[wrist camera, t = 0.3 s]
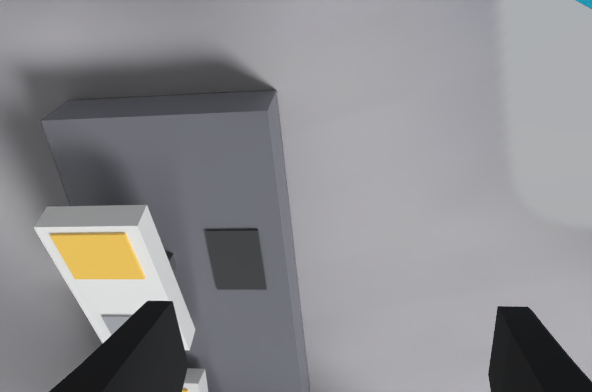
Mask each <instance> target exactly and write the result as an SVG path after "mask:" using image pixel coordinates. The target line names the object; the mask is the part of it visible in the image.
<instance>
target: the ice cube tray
mask: <svg viewBox="0 0 592 392" xmlns="http://www.w3.org/2000/svg"><path fill="white" fill-rule="evenodd" d="M576 1H578V2H580V3H582V4H583V5H585V6H587V7H589V8H591V9H592V0H576Z"/></svg>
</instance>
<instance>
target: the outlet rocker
mask: <svg viewBox="0 0 592 392" xmlns="http://www.w3.org/2000/svg"><path fill="white" fill-rule="evenodd" d="M33 228H34V229H35V231H36V233H37V234H38V236H39V238H40V239H41V241H42V243H43V244H44V246H45V248H46V249H47V251H48V253H49V254H50V256H51V258H52V259H53V261H54V263H55V264H56V266H57V268H58V269H59V271H60V273H61V275H62V276H63V278H64V280H65V281H66V283H67V285H68V286H69V288H70V290H71V291H72V293H73V295H74V296H75V298H76V300H77V301H78V303H79V305H80V306H81V308H82V310H83V311H84V313H85V315H86V317H87V318H88V320H89V322H90V323H91V325H92V327H93V328H94V330H95V332H96V333H97V335H98V337H99V338H100V340H101V342H102V343H104V342H105V341H106V340H107V339H108V338H109V337H110V336H111V335H112V334H113V333H114V332H115V331H116V330H117V329H118V328H120V327H121V326H122V325H123V324H124V323H125V322H126V321H127V320H128V319H129V318H130V317H131V316H132V315H133V314H134V313H135V312H136V311H137V310H138V309H139V308H140V307H141V306H142V305H143V304H145V303H146V302H147V301H173V305H174V309H175V313H176V317H177V321H178V325H179V329H180V333H181V337H182V341H183V345H184V349H185V350H190V347H191V344H192V340H193V337H194V333H195V327H194V324H193V322H192V319H191V317H190V314H189V312H188V309H187V306H186V304H185V301H184V299H183V296H182V294H181V291H180V288H179V286H178V283H177V281H176V278H175V276H174V273H173V271H172V268H171V265H170V263H169V260H168V258H167V255H166V253H165V250H164V247H163V245H162V242H161V240H160V237H159V235H158V232H157V229H156V227H155V224H154V222H153V219H152V217H151V214H150V211H149V209H148V206H147V205H109V206H57V207H46V209H45V210H44V212H43V213H42V215H41V216H40V218H39V219H38V221H37V222H36V224H35V226H34V227H33Z"/></svg>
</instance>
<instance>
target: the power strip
mask: <svg viewBox="0 0 592 392" xmlns="http://www.w3.org/2000/svg"><path fill="white" fill-rule="evenodd" d="M41 123H42V126H43V129H44V132H45V135H46V138H47V141H48V143H49V146H50V149H51V152H52V155H53V158H54V161H55V164H56V167H57V169H58V172H59V175H60V178H61V181H62V184H63V187H64V190H65V192H66V195H67V198H68V201H69V204H70V206H109V205H147V206H148V209H149V211H150V214H151V217H152V219H153V222H154V224H155V227H156V229H157V232H158V235H159V237H160V240H161V242H162V245H163V247H164V250H165V253H166V255H167V258H168V260H169V263H170V265H171V268H172V271H173V273H174V276H175V278H176V281H177V283H178V286H179V288H180V291H181V294H182V296H183V299H184V301H185V304H186V306H187V309H188V312H189V314H190V317H191V319H192V322H193V324H194V327H195V333H194V337H193V340H192V344H191V347H190V350H185V353H186V357H187V361H188V368H195V369H205V372H206V379H207V386H208V392H310V386H309V377H308V368H307V359H306V350H305V341H304V332H303V323H302V314H301V306H300V297H299V288H298V279H297V270H296V261H295V252H294V243H293V234H292V225H291V216H290V207H289V198H288V189H287V180H286V171H285V163H284V154H283V145H282V136H281V127H280V118H279V109H278V100H277V91H276V90H269V91H249V92H228V93H208V94H188V95H168V96H147V97H127V98H107V99H87V100H68V101H67V102H65V103H64V104H63V105H61V106H60V107H58V108H57V109H56V110H54V111H53V112H52V113H50V114H49V115H48V116H46V117H45V118H44V119H42V120H41Z"/></svg>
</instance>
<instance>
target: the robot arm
mask: <svg viewBox="0 0 592 392" xmlns="http://www.w3.org/2000/svg"><path fill="white" fill-rule="evenodd" d="M187 368H188V361H187V357H186V353H185V349H184V345H183V341H182V337H181V333H180V329H179V325H178V321H177V317H176V313H175V309H174V305H173V301H147V302H146V303H145V304H143V305H142V306H141V307H140V308H139V309H138V310H137V311H136V312H135V313H134V314H133V315H132V316H131V317H130V318H129V319H128V320H127V321H126V322H125V323H124V324H123V325H122V326H121V327H120V328H118V329H117V330H116V331H115V332H114V333H113V334H112V335H111V336H110V337H109V338H108V339H107V340H106V341H105V342H104V343H103V344H102V345H101V346H100V347H99V348H98V349H97V350H96V351H94V352H93V353H92V354H91V355H90V356H89V357H88V358H87V359H86V360H85V361H84V362H83V363H82V364H81V365H79V366H78V367H77V368H76V369H75V370H74V371H73V372H71V373H70V374H69V375H68V376H67V377H66V378H65V379H63V380H62V381H61V382H60V383H59V384H58V385H56V386H55V387H54V388H53V389H52V390H51V391H49V392H182V389H183V385H184V381H185V377H186V373H187ZM488 375H489V381H490V388H491V392H592V382H591V381H590V379H589V378H588V377H587V376H586V375H585V374H584V373H583V372H582V371H581V369H580V368H579V367H578V366H577V365H576V364H575V363H574V361H573V360H572V359H571V358H570V357H569V356H568V354H567V353H566V352H565V351H564V350H563V348H562V347H561V346H560V345H559V344H558V342H557V341H556V340H555V339H554V337H553V336H552V335H551V334H550V333H549V331H548V330H547V329H546V328H545V326H544V325H543V324H542V323H541V321H540V320H539V319H538V318H537V316H536V315H535V314H534V312H533V311H532V310H531V309H530V308H529V307H501V306H498V309H497V316H496V323H495V331H494V338H493V345H492V352H491V359H490V366H489V374H488Z"/></svg>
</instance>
